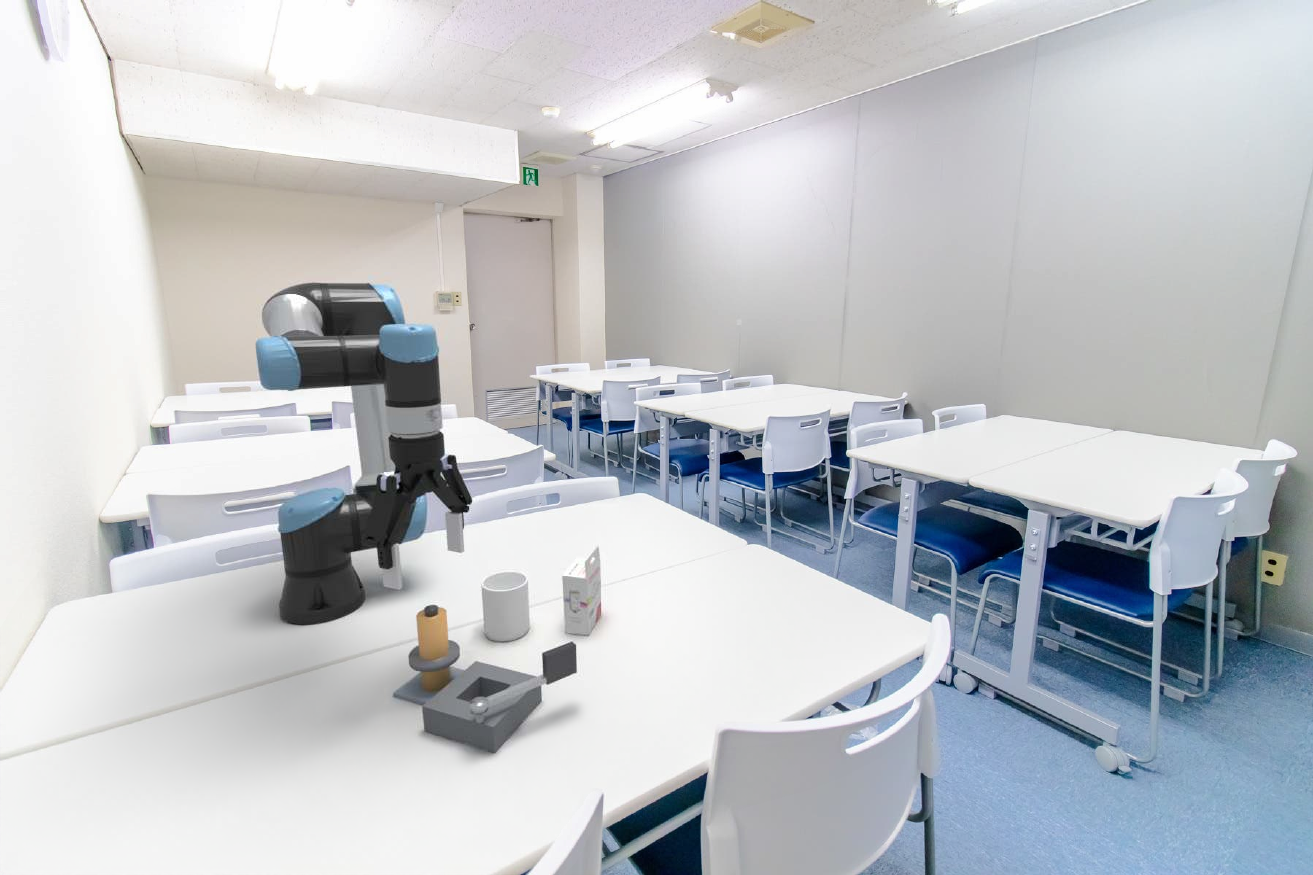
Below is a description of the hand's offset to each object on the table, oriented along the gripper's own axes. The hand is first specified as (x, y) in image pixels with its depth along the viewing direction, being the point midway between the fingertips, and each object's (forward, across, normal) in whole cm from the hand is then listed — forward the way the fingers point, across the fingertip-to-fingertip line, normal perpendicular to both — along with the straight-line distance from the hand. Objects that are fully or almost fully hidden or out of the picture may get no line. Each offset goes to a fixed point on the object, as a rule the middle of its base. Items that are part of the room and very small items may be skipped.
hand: (426, 567), depth 93 cm
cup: (+21, +20, 0) cm, 28 cm away
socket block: (+20, -4, -12) cm, 24 cm away
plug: (+20, 0, -1) cm, 20 cm away
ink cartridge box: (+20, +26, -13) cm, 35 cm away
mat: (+20, 0, -1) cm, 20 cm away
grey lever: (+14, -3, -19) cm, 24 cm away
